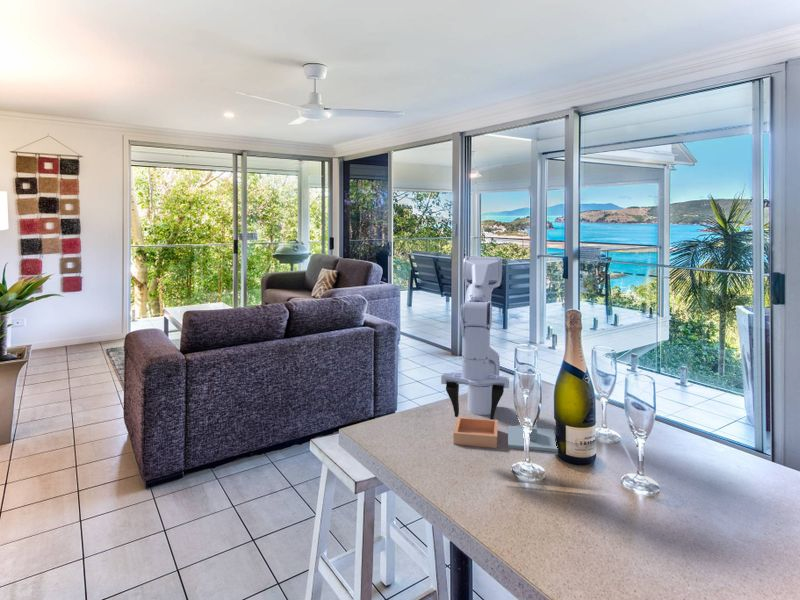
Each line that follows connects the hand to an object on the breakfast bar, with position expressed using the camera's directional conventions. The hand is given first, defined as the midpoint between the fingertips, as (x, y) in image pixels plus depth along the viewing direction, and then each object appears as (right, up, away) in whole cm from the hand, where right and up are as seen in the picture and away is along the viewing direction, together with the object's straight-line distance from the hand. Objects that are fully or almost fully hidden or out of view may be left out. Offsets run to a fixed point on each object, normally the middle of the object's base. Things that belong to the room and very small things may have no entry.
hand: (474, 416), depth 108 cm
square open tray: (+2, -8, +11) cm, 14 cm away
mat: (+15, -9, +9) cm, 20 cm away
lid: (+15, -8, +9) cm, 19 cm away
